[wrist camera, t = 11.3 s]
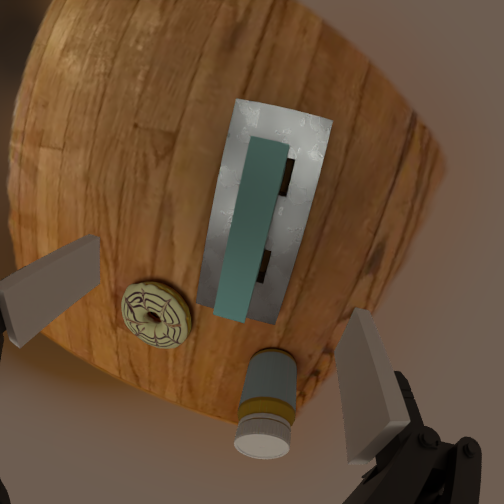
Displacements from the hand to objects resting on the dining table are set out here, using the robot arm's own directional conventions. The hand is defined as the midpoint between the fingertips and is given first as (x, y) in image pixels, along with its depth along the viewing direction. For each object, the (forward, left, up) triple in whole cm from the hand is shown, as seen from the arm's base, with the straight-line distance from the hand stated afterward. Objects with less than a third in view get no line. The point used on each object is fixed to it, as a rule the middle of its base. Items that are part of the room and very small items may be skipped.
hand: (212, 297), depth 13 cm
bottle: (+21, +7, -21) cm, 30 cm away
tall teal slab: (0, 0, -20) cm, 20 cm away
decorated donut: (+17, -11, -21) cm, 29 cm away
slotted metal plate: (0, 0, -20) cm, 20 cm away
